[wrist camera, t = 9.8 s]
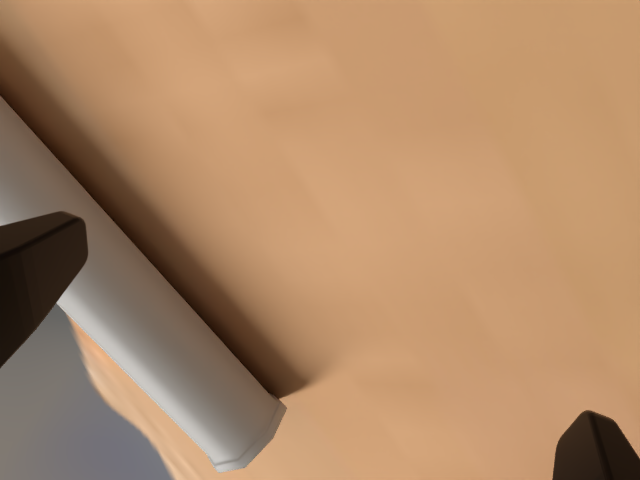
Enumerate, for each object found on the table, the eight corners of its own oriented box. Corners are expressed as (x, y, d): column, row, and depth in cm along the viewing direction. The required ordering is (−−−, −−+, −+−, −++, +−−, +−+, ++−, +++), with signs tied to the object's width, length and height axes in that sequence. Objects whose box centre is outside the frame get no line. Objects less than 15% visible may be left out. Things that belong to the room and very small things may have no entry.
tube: (-151, 121, 24) (198, 466, 31) (-162, 71, 20) (243, 481, 27) (-44, 71, 27) (253, 395, 34) (-35, 18, 23) (300, 399, 30)
